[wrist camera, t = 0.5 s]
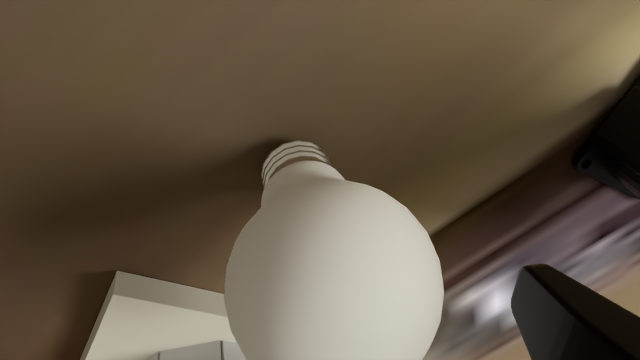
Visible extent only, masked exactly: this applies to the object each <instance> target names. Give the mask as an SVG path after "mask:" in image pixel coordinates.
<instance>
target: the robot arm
mask: <svg viewBox="0 0 640 360" xmlns="http://www.w3.org/2000/svg"><path fill="white" fill-rule="evenodd" d="M584 161H585V162H584ZM583 162H584V163H583ZM582 163H583V164H582ZM572 166H573V167H574V168H575V169H576V170H577V171H579V172H580V173H582V174H584V175H586V176H589V177H591V178H593V179H595V180H598V181H600V182H602V183H604V184H606V185H609V186H611V187H613V188H615V189H618V190H620V191H622V192H624V193H626V194H629V195H631V196H633V197H635V198H638V199H640V76H639V77H638V78H637V80H636V81H635V82H634V83H633V85H632V86H631V87H630V88H629V90H628V91H627V92H626V93H625V95H624V96H623V97H622V98H621V100H620V101H619V102H618V103H617V105H616V106H615V107H614V108H613V110H612V111H611V112H610V113H609V115H608V116H607V117H606V118H605V119H604V121H603V122H602V123H601V124H600V126H599V127H598V128H597V129H596V131H595V132H594V133H593V134H592V136H591V137H590V138H589V139H588V141H587V142H586V143H585V144H584V146H583V147H582V148H581V149H580V151H579V152H578V153H577V154H576V156H575V157H574V158H573V160H572ZM511 309H512V313H513V316H514V318H515V320H516V323H517V325H518V328H519V330H520V333H521V335H522V338H523V340H524V342H525V345H526V347H527V350H528V352H529V355H530V357H531V360H640V317H638V316H637V315H635V314H633V313H631V312H630V311H628V310H626V309H624V308H623V307H621V306H619V305H617V304H616V303H614V302H612V301H610V300H609V299H607V298H605V297H603V296H602V295H600V294H598V293H597V292H595V291H593V290H591V289H590V288H588V287H586V286H584V285H583V284H581V283H579V282H577V281H576V280H574V279H572V278H570V277H569V276H567V275H565V274H563V273H562V272H560V271H558V270H556V269H555V268H553V267H551V266H549V265H547V264H535V265H527V266H524V267H522V268H521V269H520V271H519V274H518V277H517V281H516V284H515V288H514V291H513V295H512V298H511Z"/></svg>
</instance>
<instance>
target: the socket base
mask: <svg viewBox="0 0 640 360" xmlns="http://www.w3.org/2000/svg"><path fill="white" fill-rule="evenodd" d="M80 360H247V359H246V358H245V356H244V355H243V353H242V351H241V349H240V347H239V345H238V343H237V341H236V339H235V338H234V336H233V334H232V332H231V329H230V325H229V320H228V316H227V311H226V306H225V301H224V294H222V293H218V292H213V291H208V290H204V289H199V288H195V287H190V286H185V285H181V284H176V283H172V282H167V281H162V280H158V279H153V278H149V277H144V276H139V275H135V274H130V273H126V272H121V271H117V272H116V274H115V277H114V279H113V281H112V284H111V286H110V289H109V291H108V293H107V296H106V298H105V301H104V303H103V305H102V308H101V310H100V313H99V315H98V317H97V320H96V322H95V325H94V327H93V329H92V332H91V334H90V337H89V339H88V341H87V344H86V346H85V349H84V351H83V353H82V356H81V358H80Z"/></svg>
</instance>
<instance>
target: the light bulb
mask: <svg viewBox="0 0 640 360" xmlns="http://www.w3.org/2000/svg"><path fill="white" fill-rule="evenodd" d="M260 176H261V180H262V185H263V190H264V191H263V194H262V200H261V208H260V209H259V210H258V211H257V212H256V214H255V215H254V216H253V217H252V218H251V219H250V220H249V221H248V222H247V223H246V225H245V226H244V228H243V229H242V231H241V232H240V234H239V236H238V237H237V239H236V241H235V244H234V247H233V249H232V252H231V255H230V258H229V261H228V264H227V267H226V277H225V293H224V301H225V306H226V311H227V316H228V320H229V325H230V329H231V332H232V334H233V336H234V338H235V339H236V341H237V343H238V345H239V347H240V349H241V351H242V353H243V355H244V356H245V358H246V359H247V360H422V359H423V357H424V356H425V354H426V353H427V351H428V349H429V348H430V346H431V343H432V341H433V339H434V337H435V334H436V332H437V329H438V326H439V324H440V321H441V313H442V305H443V297H444V287H443V280H442V273H441V266H440V260H439V258H438V255H437V253H436V251H435V248H434V246H433V244H432V242H431V240H430V237H429V235H428V233H427V231H426V230H425V229H424V228H423V226H422V225H421V224H420V223H419V221H418V220H417V219H416V218H415V217H414V215H413V214H412V213H411V212H410V211H409V210H408V208H406V207H405V206H404V205H402V204H401V203H399V202H398V201H397V200H395V199H394V198H392V197H391V196H389V195H388V194H386V193H385V192H383V191H381V190H379V189H376V188H374V187H371V186H369V185H366V184H361V183H357V182H351V181H346V180H345V179H344V178H343V177H342V175H341V174H340V173H339V172H338V171H337V170H335V169H334V167H333V166H332V162H331V161H330V159H329V158H328V157H327V155H326V154H325V153H324V151H323V148H322V147H321V146H319V145H317V144H315V143H313V142H311V141H305V140H294V141H290V142H286V143H283V144H281V145H280V146H278V147H277V148H275V149H274V150H272V151H271V152H270V154H269V155H268V156H267V158H266V159H265V161H264V162H263V165H262V170H261V175H260Z"/></svg>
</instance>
